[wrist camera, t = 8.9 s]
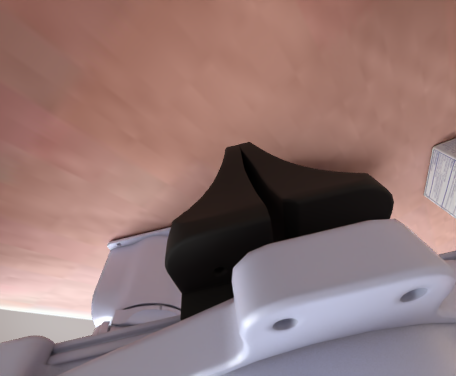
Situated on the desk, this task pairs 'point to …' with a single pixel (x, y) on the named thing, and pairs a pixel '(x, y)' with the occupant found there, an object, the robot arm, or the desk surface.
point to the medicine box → (443, 177)
